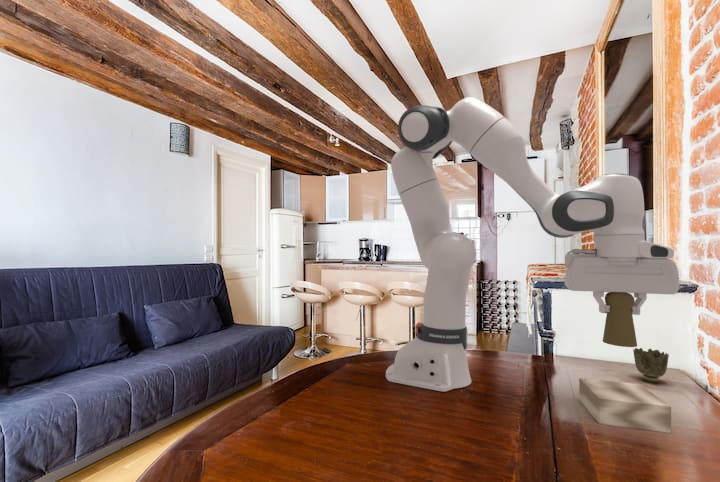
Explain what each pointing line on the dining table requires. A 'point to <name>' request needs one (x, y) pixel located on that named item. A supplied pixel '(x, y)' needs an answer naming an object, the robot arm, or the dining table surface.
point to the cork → (619, 320)
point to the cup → (651, 364)
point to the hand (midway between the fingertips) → (619, 313)
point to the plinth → (624, 405)
